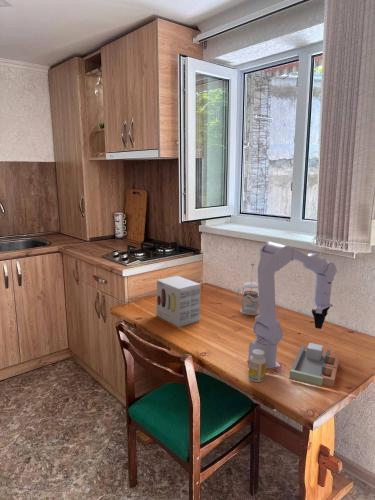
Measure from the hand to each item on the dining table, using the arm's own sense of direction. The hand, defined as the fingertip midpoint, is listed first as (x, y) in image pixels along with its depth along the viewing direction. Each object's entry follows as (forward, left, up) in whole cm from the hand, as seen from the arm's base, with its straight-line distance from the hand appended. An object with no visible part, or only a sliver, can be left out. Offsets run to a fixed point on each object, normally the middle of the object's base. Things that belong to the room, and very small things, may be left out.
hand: (319, 325), depth 145 cm
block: (-5, -5, -10) cm, 12 cm away
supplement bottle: (-33, -12, -11) cm, 37 cm away
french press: (-6, +46, -11) cm, 48 cm away
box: (-10, -12, -10) cm, 19 cm away
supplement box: (-43, +46, -11) cm, 64 cm away
